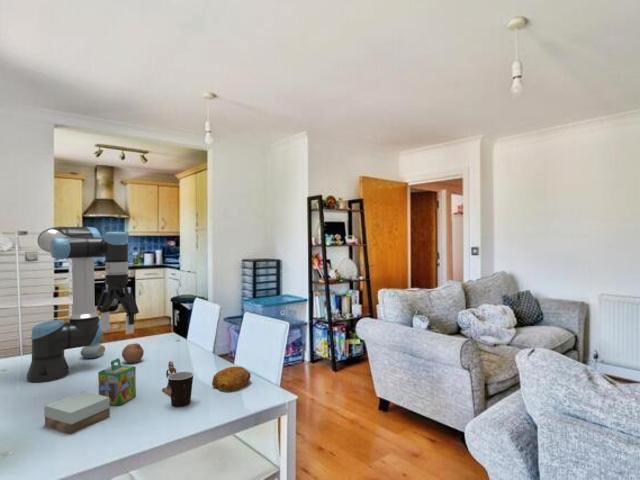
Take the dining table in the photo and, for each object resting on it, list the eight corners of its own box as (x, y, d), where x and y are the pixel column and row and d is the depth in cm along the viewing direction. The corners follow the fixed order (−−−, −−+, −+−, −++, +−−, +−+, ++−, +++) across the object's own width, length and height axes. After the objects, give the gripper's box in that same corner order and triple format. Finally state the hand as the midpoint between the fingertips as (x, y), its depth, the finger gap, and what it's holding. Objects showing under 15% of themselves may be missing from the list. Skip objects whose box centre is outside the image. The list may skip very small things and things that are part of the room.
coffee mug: (172, 399, 147) (171, 372, 147) (196, 398, 148) (195, 371, 148) (162, 412, 136) (162, 383, 136) (188, 411, 136) (188, 382, 136)
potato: (256, 386, 165) (257, 367, 166) (232, 394, 151) (235, 373, 152) (227, 380, 171) (229, 361, 172) (203, 388, 157) (205, 367, 158)
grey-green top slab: (44, 416, 127) (44, 405, 127) (83, 401, 138) (83, 391, 138) (70, 424, 121) (70, 413, 121) (109, 407, 133) (109, 397, 133)
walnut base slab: (45, 427, 127) (45, 416, 127) (85, 411, 139) (85, 401, 139) (69, 436, 121) (69, 424, 121) (109, 418, 133) (109, 408, 133)
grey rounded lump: (95, 360, 196) (94, 339, 196) (78, 360, 196) (78, 339, 196) (107, 353, 207) (107, 334, 207) (91, 353, 207) (91, 334, 207)
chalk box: (120, 406, 141) (119, 364, 141) (97, 404, 143) (97, 363, 143) (137, 396, 150) (136, 356, 150) (115, 394, 152) (115, 355, 152)
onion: (141, 367, 193) (150, 349, 193) (123, 367, 186) (133, 348, 186) (132, 357, 199) (141, 339, 199) (114, 356, 191) (124, 337, 191)
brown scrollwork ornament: (161, 390, 156) (161, 360, 155) (171, 388, 158) (171, 358, 158) (171, 397, 149) (170, 365, 149) (181, 394, 152) (181, 362, 152)
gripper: (85, 273, 149) (86, 330, 149) (130, 275, 138) (131, 337, 138) (104, 272, 156) (105, 326, 156) (148, 273, 145) (149, 332, 144)
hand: (117, 331), depth 147 cm, fingers open, 13 cm apart
